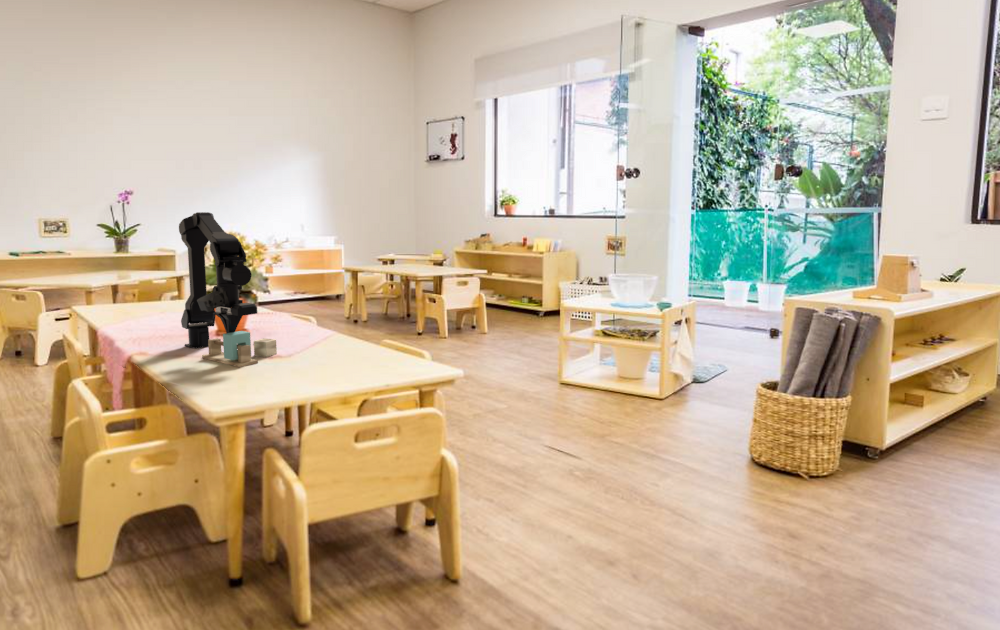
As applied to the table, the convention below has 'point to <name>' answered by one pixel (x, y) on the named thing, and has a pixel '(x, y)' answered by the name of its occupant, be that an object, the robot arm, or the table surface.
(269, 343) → the maple cube
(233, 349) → the bead
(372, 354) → the table surface
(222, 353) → the rail
